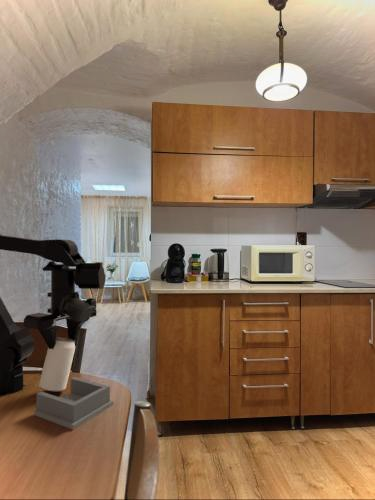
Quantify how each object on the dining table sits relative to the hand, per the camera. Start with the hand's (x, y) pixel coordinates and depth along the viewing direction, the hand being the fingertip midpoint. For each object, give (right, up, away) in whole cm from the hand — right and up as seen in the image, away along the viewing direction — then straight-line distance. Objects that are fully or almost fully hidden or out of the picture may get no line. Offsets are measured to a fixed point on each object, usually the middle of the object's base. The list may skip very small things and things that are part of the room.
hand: (62, 349), depth 85 cm
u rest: (+7, -11, -10) cm, 16 cm away
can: (-2, -9, -2) cm, 10 cm away
